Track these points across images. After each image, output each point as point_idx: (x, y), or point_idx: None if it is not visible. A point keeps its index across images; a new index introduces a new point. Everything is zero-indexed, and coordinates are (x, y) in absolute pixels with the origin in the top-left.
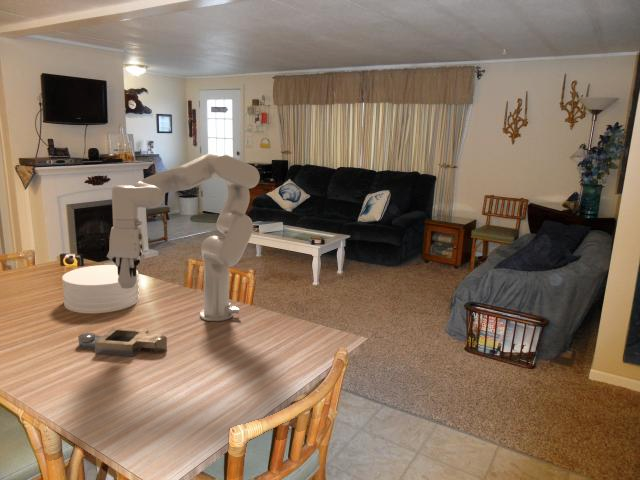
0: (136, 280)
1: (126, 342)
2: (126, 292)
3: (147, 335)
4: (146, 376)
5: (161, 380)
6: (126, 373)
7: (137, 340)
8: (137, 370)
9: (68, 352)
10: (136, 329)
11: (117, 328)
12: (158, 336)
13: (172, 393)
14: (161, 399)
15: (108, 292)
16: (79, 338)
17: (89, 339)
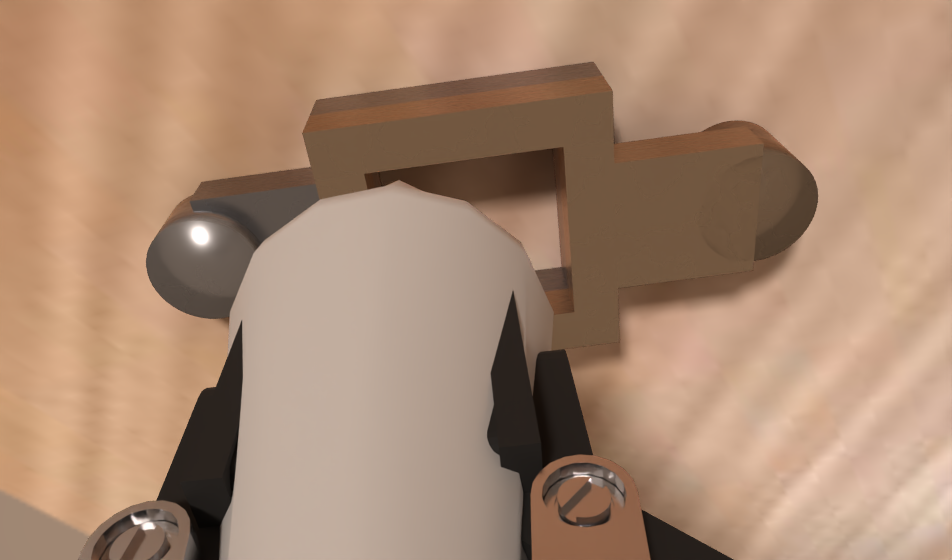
0: (522, 246)
1: (563, 323)
2: None
3: (653, 188)
4: (763, 428)
5: (846, 436)
6: (656, 432)
7: (620, 279)
8: (697, 398)
9: (207, 349)
10: (512, 115)
11: (350, 145)
12: (745, 181)
13: (920, 497)
14: (884, 534)
15: None
16: (193, 315)
17: None
